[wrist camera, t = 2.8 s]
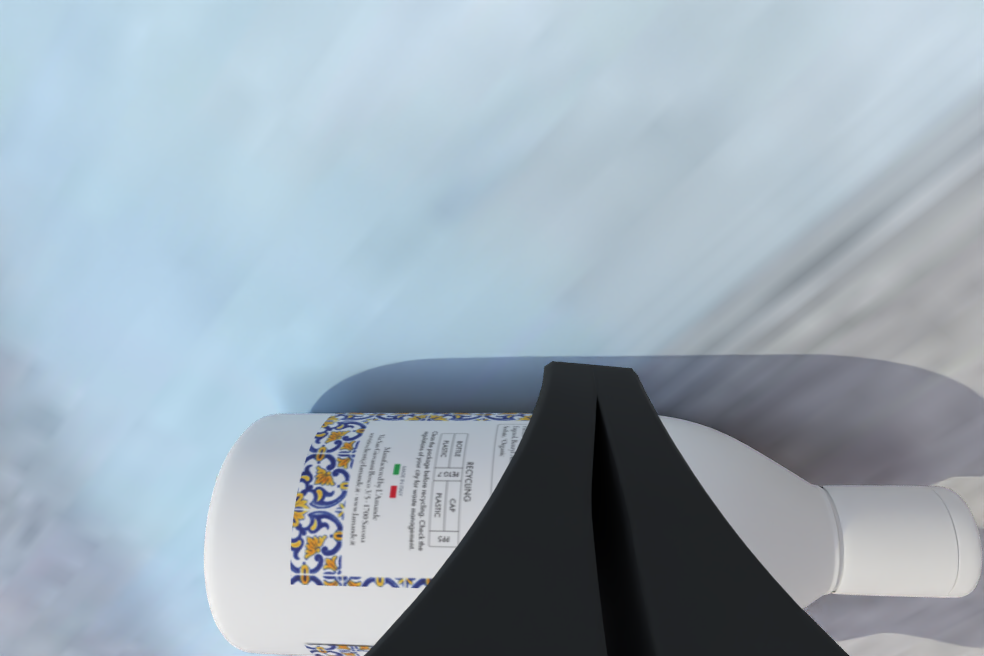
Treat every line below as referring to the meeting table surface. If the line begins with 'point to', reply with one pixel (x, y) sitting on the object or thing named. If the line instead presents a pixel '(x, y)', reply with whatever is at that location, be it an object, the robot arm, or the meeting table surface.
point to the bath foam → (463, 494)
